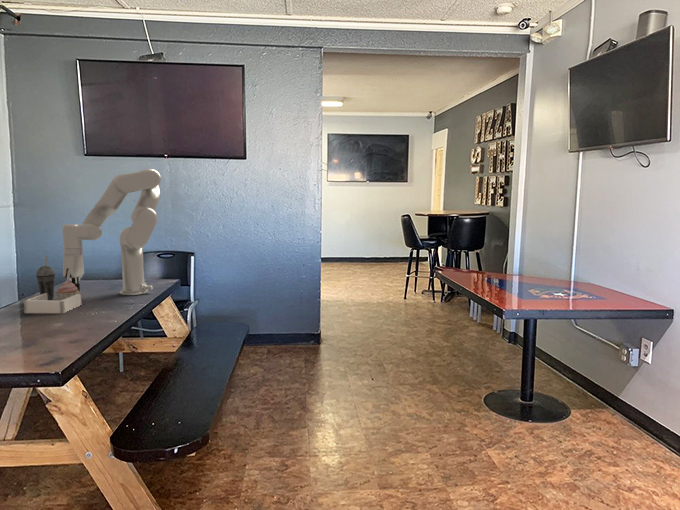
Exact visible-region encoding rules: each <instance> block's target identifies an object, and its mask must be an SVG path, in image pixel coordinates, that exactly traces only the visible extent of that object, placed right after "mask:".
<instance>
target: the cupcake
mask: <svg viewBox="0 0 680 510" xmlns="http://www.w3.org/2000/svg"><path fill="white" fill-rule="evenodd" d="M80 292H81V290H80V291H79V290H78V288H77V287H76V286H75V284H73V283H71V282H69V281H68V280H67V279H66V280H65V281H64V282H63V283H62V284H61V285H60V286H58V288H57V292H55V294H56V296H57V297H58V298H57V299H58V301H61V300H64V299H66V298H69V297H71V296H73V295H76V294H80Z"/></svg>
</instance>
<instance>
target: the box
mask: <svg viewBox="0 0 680 510" xmlns="http://www.w3.org/2000/svg"><path fill="white" fill-rule="evenodd" d="M81 294H82V293H79V294H76V295H73V296H71V297H69V298H66V299H64V300H61V301H59V300H54V299H53V300H48V297H47V293H44V294H41V295H40V294H39V295H36V296H34V297H31V298H28V299H26V300H23V310H24V311H23V312H24V313H23V314H65V313H68V312H69V310H70V311H71V310H74V309H77V308H78V307H81V306H82V295H81ZM80 305H81V306H80ZM73 308H74V309H73ZM67 311H68V312H67Z"/></svg>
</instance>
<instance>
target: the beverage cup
mask: <svg viewBox="0 0 680 510" xmlns="http://www.w3.org/2000/svg"><path fill="white" fill-rule="evenodd" d="M35 276H36V279H37V283H38V290H39V295H41V294H44V293H47V297H48V300H54V296H55V279H56V273H55V271H54V268H52V267H51V266H49V265H48V255H46V256H45V265H42V266H41V267H39V268H38V269H37V271H36V275H35Z"/></svg>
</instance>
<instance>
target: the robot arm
mask: <svg viewBox="0 0 680 510" xmlns="http://www.w3.org/2000/svg"><path fill="white" fill-rule="evenodd" d="M161 180H162V176H161V174H160V172H159V171H158V170H157V169H154V168H145V169H141V170H140V171H136V172H135V171H134V172H131V173H124V174H123V173H122V174H118V175H116V176H114V177H113V179H112V180H111V182H109V183H110V184H109V185H108V187H106V189H105V191H104V192H103V194H102V195H101V197H100V199H99V200H98V201H97V203H96V204H95V205H94V206H93V208H92V209H91V210H90V212H89V213H87V216H86V217H85V218H84V221H82V223H81V224H78V223H69V224H68V223H67V224H64V225H62V227H61V228H62V229H61V230H62V246H63V258H62V259H63V260H62V277H63V279H66V281H67V280H68V281H69V282H71V283H73V284H75V286H76V287H77V288H78V290H79V291H80V292H81V286H80V283H81V279H82V278H83V276H84V274H85V263H84V257H83V254H84V250H83V241H96V240H99V239H100V238H101V237H102V234H103V230H102V228H101V227H102V226H103V224H104V223H105V221H106V220H107V219H108V218H109V217H110V216H112V215H113V214H114V213H115V212H117V210H118V209H120V206H121V205H122V203H123V201H124V200H125V198H126V197H127V195H128V194H130V193H135V192H140V191H141V192H140V196H139V199H138V201H137V203H136V205H135V207H134V209H133V210H132V213H131V216H130V218H131V222H132V224H131V226H128V227H125V228H124V229H122V231H121V232H120V234H119V245H120V253H121V270H122V271H121V273H122V274H121V275H122V289H121V290H119V294H120V295H122V296H138V295H144V294H146V293H148V292H149V291H151V290H153V289H154V286H153V285H152V284H149V285H148V284H147V282H145V270H144V251H143V248H144V247H145V246H146V245H147V243H148V242H149V240H150V238H151V235H152V234H153V231H154V229H155V227H156V225H157V222H158V214H157V212H156V209H157V207H158V204H159V201H160V198H161V191H160V190H161V189H160V186H159V185H160V183H161Z"/></svg>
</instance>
